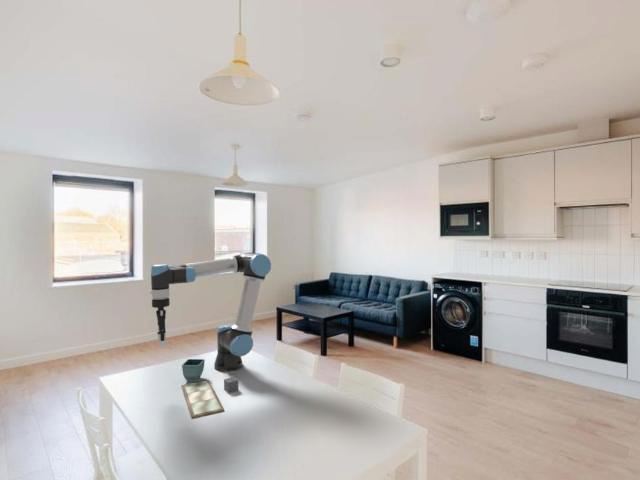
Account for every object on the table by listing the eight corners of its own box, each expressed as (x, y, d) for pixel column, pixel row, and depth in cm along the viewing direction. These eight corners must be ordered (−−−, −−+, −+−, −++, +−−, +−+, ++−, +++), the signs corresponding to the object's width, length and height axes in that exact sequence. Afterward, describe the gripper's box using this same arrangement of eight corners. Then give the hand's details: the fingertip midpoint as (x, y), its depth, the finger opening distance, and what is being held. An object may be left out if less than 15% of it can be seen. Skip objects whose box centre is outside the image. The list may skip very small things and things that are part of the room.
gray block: (233, 387, 175) (233, 376, 175) (238, 390, 171) (238, 380, 171) (224, 389, 172) (224, 379, 171) (228, 393, 168) (228, 382, 168)
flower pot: (199, 383, 179) (199, 365, 179) (181, 383, 179) (181, 365, 179) (205, 376, 188) (205, 359, 187) (188, 376, 188) (188, 358, 188)
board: (209, 381, 181) (209, 379, 181) (224, 411, 151) (224, 408, 151) (181, 386, 175) (181, 384, 175) (191, 418, 145) (191, 416, 145)
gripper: (151, 294, 177) (152, 337, 178) (152, 303, 155) (153, 352, 155) (167, 293, 180) (168, 335, 181) (171, 301, 158) (172, 349, 158)
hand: (161, 343), depth 168 cm, fingers open, 13 cm apart
